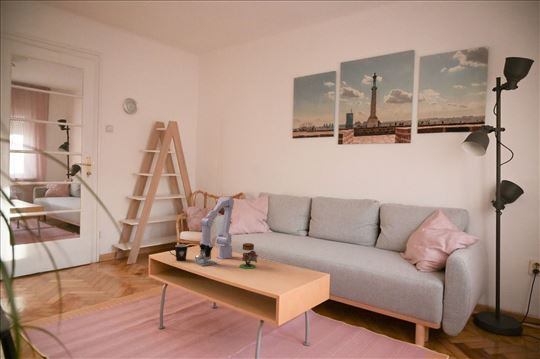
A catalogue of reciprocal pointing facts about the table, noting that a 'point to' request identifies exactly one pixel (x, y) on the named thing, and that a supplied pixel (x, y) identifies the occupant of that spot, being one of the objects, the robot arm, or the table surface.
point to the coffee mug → (180, 252)
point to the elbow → (202, 255)
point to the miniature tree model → (249, 256)
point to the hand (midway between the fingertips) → (205, 255)
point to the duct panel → (205, 262)
